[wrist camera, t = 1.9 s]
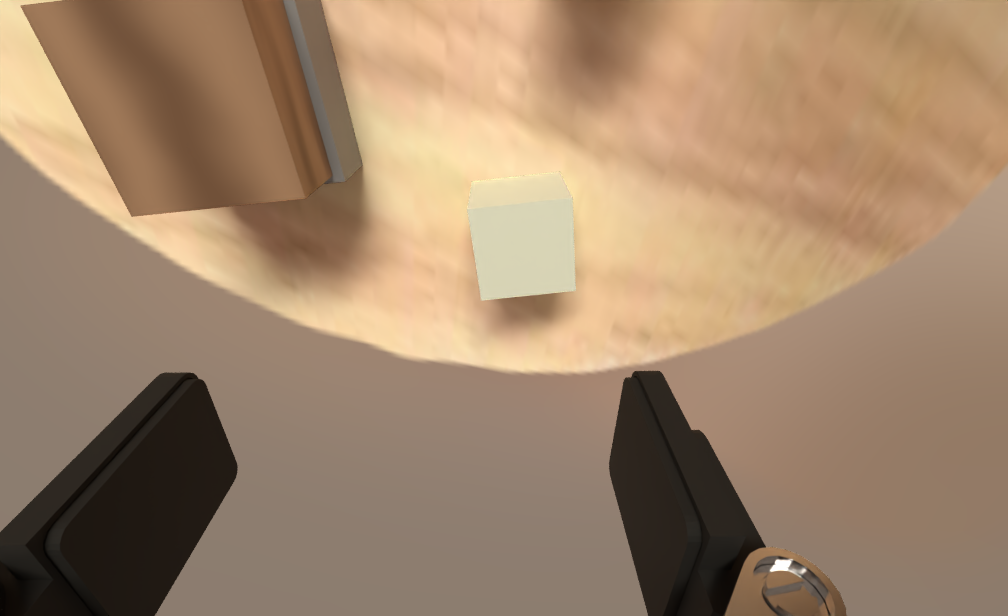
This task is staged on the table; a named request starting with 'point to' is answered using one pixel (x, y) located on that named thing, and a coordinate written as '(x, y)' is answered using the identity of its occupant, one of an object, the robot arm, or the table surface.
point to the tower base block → (324, 86)
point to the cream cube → (522, 235)
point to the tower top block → (188, 99)
